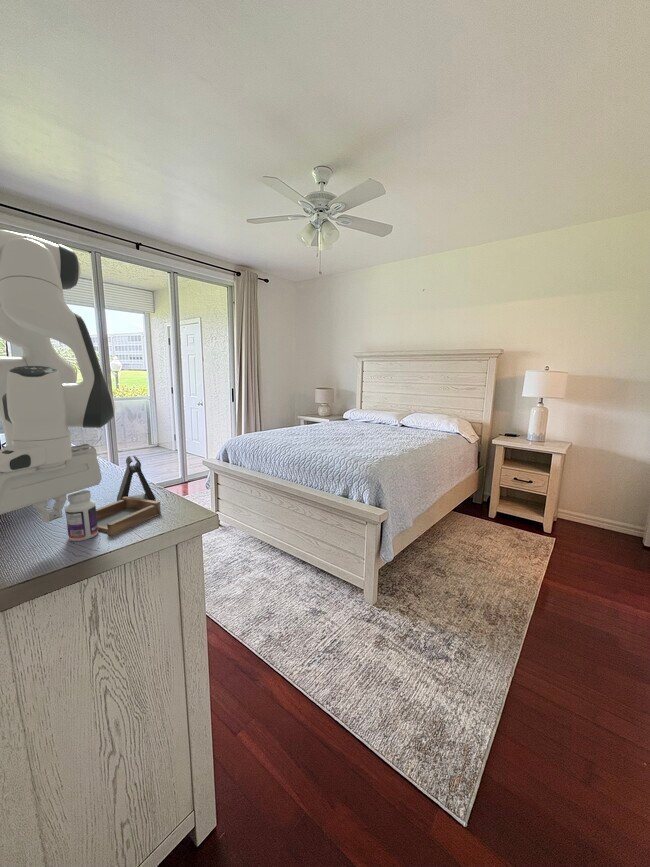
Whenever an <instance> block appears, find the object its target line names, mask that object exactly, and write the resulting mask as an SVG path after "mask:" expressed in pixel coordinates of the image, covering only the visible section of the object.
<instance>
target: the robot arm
mask: <svg viewBox="0 0 650 867" xmlns="http://www.w3.org/2000/svg"><path fill="white" fill-rule="evenodd" d="M80 276H81V266H80V262H79V259H78V255H77V254H76V253H75V251H74V250H73V249H71V248H69V247H67V246H65V245H63V244H60V243H57V244H56V243H54V242H51V241H49V240H45V239H43V238H40V237H37V236H33V235H30V234H27V233H20V232H15V231H11V230H6V229H0V338H1V339H3V340H4V341H6V342H7V343H10V344H11V345H13V346H16V347H19V348H20V349H22V352H23V353H22V354H23V356H22V355H21V356H7V355H6V356H1V355H0V422H1V426H2V428H3V429H2V430H3V433H4V438H5V445H6V446H4V447H1V449H0V515H3V514H6V513H9V512H14V511H17V510H20V509H23V508H27V507H30V506H32V507H33V508H34V509H35V511H36V512H38V513H39V514H40V520H41V521H42V522H43V523H49V522H52V521H54V520H58V519H60V518H62V517H63V510H64V509H63V508H65V504H66V503H67V501H68V494H69V493H73V492H76V491H81V490H87V488H92V487H94V486H98V485H100V483H101V481H102V472H101V466H100V464H99V460H98V453H97V449H96V448H95V447H94V446H93V445H90V444H89V443H84V444H81V445H73V446H72V440H71V438H72V437H71V433H70V430H69V429H70V428H86V429H87V428H88V429H90V428H91V429H92V428H95V429H98V428H99V429H100V428H102V427H104V426H105V425H107V424H108V423H109V422H111V421H112V419H114V417H115V413H116V412H115V411H116V410H115V409H116V408H115V407H116V406H115V401H114V398H113V395H112V393H111V392H110V389H109V387H108V385H107V383H106V382H107V381H106V379H105V376H104V374H103V371H102V368H101V365H100V362H99V359H98V355H97V353H96V349H95V346H94V344H93V341H92V338H91V335H90V333H89V330H88V327H87V325H86V323H85V320H84V319H83V317H82V316H81V315H79V314H77V313H76V312H73V311H72V310H71V308H70V307H69V306H68V303H66V300H65V297H64V290H70V289H72V288H74V287H76V286H77V284H78V282H79V280H80ZM51 339H53V340H54V341H57V342H59V343H62V344H64V345H65V346H67V347H68V348H69V349H71V351H72V352H73V353H74V356H75V359H76V362H77V366H78V368H79V370H80V374H81V377H82V381H81V382H77V379H78V377H77V376H78V375H77V372H76V370H75V368H74V366H73V365H72V364H71V363H70V362H68V361H67V360H65V359H64V358H63V357H62V356H61V355H60V354H59V353H58V352H57V351H56V350H55V348H54V346H53V344H52V341H51ZM49 500H53V501H54V504H53V507H52V508H51V509H47V506H48V501H49Z"/></svg>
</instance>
